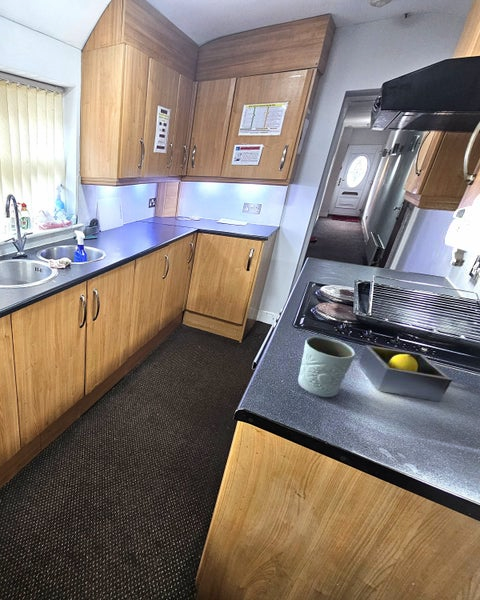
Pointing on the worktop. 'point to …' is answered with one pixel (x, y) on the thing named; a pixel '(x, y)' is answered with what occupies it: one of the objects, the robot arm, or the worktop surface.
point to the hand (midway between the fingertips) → (468, 270)
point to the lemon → (403, 363)
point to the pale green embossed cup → (324, 365)
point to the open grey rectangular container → (403, 374)
